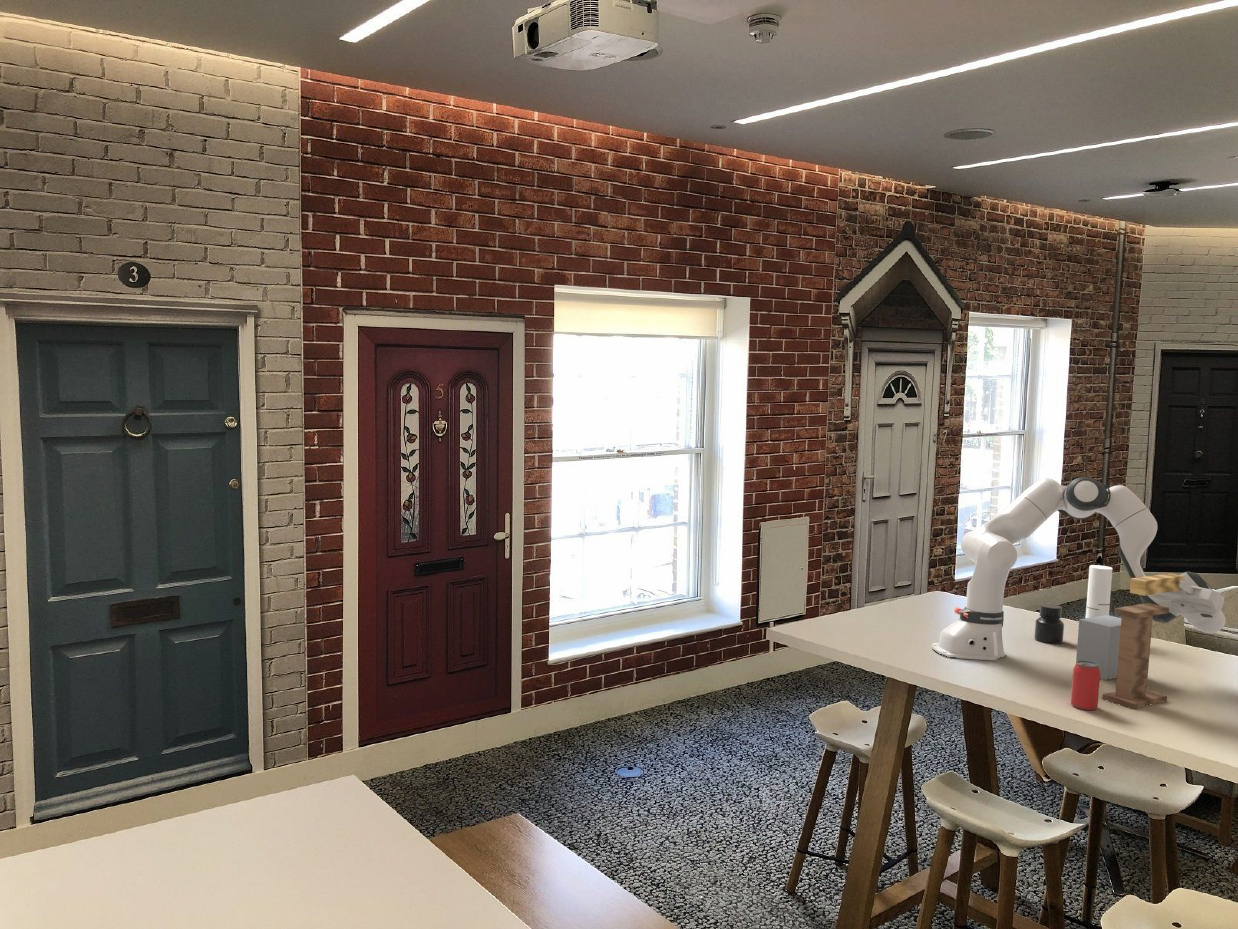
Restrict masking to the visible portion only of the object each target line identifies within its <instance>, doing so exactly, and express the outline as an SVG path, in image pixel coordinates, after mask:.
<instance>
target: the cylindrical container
mask: <svg viewBox="0 0 1238 929" xmlns="http://www.w3.org/2000/svg"><path fill="white" fill-rule="evenodd" d="M1112 579H1113V567H1111V566H1107V565H1098V564H1096V565H1095V564H1091V565H1089V568H1088V581H1087V593H1086V595H1087V596H1086V597H1087V598H1086V607H1085V618H1091V617H1097V616H1103V615H1109V616H1110V605H1111V595H1112V594H1111V591H1112V582H1113V581H1112Z"/></svg>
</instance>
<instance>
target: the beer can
mask: <svg viewBox="0 0 1238 929" xmlns="http://www.w3.org/2000/svg"><path fill="white" fill-rule="evenodd" d="M1098 666H1099V665H1098V664H1097V663H1094V662H1090V661H1077V662H1076V661H1075V664H1074V666H1073V671H1072V682H1071V683H1072V684H1071V696H1070V704H1071V706H1073V707H1075V708H1076V709H1080V710H1085V711H1094V710H1097V708H1098V706H1099V695H1100V682H1101V678H1100V670H1099V667H1098Z"/></svg>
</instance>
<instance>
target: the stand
mask: <svg viewBox="0 0 1238 929" xmlns="http://www.w3.org/2000/svg"><path fill="white" fill-rule="evenodd" d="M1166 613H1169V608H1168V607H1164V606H1159V605H1154V604H1150V603H1146V604H1143V603H1140V604H1134V605H1128V606H1121V607H1120V606H1119V607H1116V608H1114V612H1113V614H1114V615H1118V616H1121V617H1120V618H1121V631H1120V644H1119V656H1118V669H1117V678H1116V681H1115V682H1116V683H1115V690H1114V691H1110V692H1106V693H1102V697H1101V700H1102V699H1103V700H1102V701H1106V700H1108V701H1107V702H1109V701H1110V703H1112V702H1113V704H1117V705H1118V704H1120V705H1119V706H1122V707H1125V708H1128V707H1130V708H1129V709H1131V708H1132V710H1136V709H1139V708H1138V707H1140V708H1144V707H1148V706H1151V705H1150V704H1152V705H1156V704H1160V703H1164V702H1167V701H1168V695H1166V694H1163V693H1160V692H1156V691H1154V690H1150V689H1148V678H1149V675H1148V674H1149V667H1150V666H1149V664H1150V653H1151V643H1152V642H1151V640H1152V629H1153V616H1154V615H1160V614H1166ZM1166 700H1167V701H1166ZM1163 701H1164V702H1163ZM1147 705H1148V706H1147ZM1135 708H1136V709H1135Z"/></svg>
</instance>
